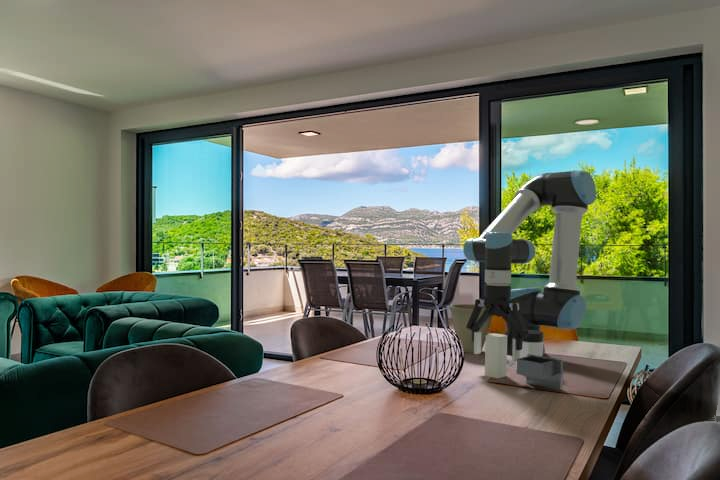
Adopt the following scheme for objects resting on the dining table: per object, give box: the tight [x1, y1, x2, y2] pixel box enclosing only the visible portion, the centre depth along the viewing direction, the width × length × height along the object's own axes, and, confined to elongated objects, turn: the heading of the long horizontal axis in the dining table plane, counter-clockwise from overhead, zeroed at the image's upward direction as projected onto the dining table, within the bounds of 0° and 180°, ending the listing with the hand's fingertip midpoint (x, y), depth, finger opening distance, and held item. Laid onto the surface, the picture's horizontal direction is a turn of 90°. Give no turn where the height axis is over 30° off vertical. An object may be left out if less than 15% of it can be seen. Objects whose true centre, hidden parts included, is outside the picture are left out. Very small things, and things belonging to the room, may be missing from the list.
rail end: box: [484, 333, 508, 380], centre depth 161 cm, size 4×4×12 cm
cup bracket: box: [516, 354, 564, 391], centre depth 148 cm, size 9×10×8 cm
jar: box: [514, 330, 545, 372], centre depth 169 cm, size 9×8×12 cm
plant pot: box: [450, 303, 493, 354], centre depth 196 cm, size 15×15×16 cm
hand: (496, 357), depth 161 cm, fingers open, 12 cm apart
